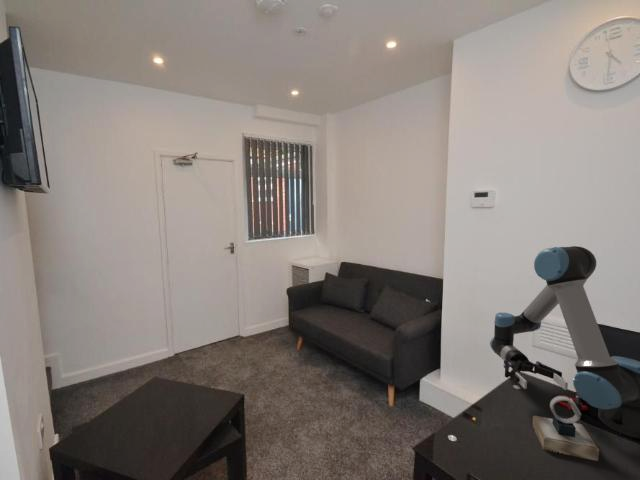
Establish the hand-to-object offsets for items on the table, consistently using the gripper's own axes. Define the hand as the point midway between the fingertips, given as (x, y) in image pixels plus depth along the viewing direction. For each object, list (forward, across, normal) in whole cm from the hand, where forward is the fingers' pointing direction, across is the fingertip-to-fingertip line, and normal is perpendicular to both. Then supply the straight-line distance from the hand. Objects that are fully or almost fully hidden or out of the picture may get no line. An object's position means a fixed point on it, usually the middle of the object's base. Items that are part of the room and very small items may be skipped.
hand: (546, 385), depth 113 cm
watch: (+10, 0, -10) cm, 14 cm away
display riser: (+10, 0, -14) cm, 17 cm away
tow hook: (-12, -16, -14) cm, 24 cm away
